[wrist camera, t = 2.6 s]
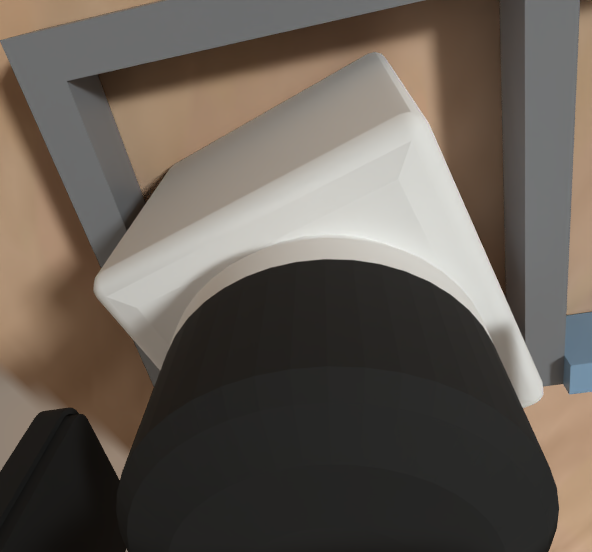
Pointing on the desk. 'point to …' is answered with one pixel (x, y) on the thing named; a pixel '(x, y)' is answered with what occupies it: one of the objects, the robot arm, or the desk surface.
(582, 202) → the desk surface
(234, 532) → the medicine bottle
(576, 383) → the frame
